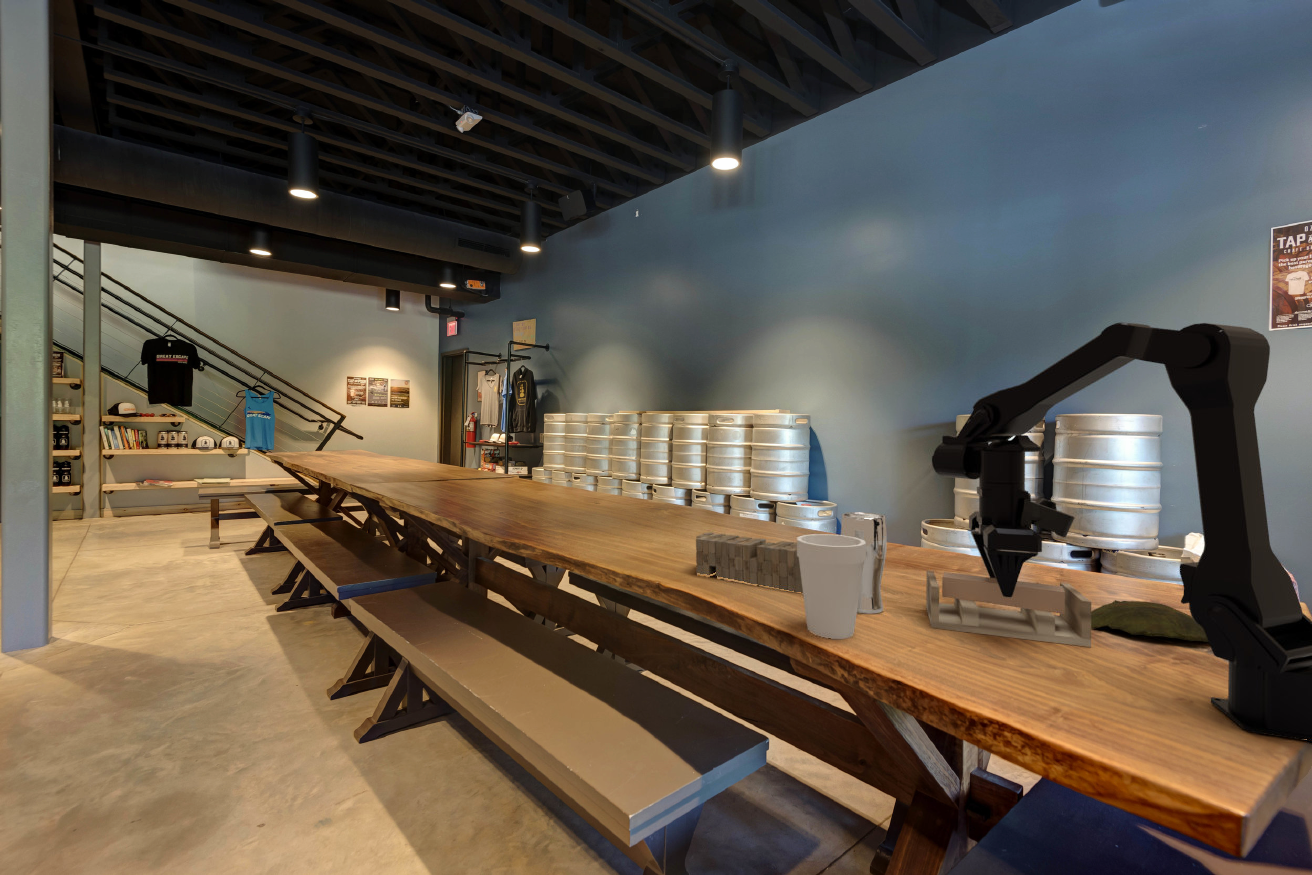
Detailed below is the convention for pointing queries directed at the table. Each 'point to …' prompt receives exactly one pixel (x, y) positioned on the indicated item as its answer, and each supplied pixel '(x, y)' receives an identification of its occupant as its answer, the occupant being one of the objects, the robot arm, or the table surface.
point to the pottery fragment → (1147, 620)
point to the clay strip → (989, 592)
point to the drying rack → (1013, 618)
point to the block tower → (749, 560)
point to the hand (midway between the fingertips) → (1000, 588)
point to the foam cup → (831, 582)
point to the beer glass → (869, 556)
